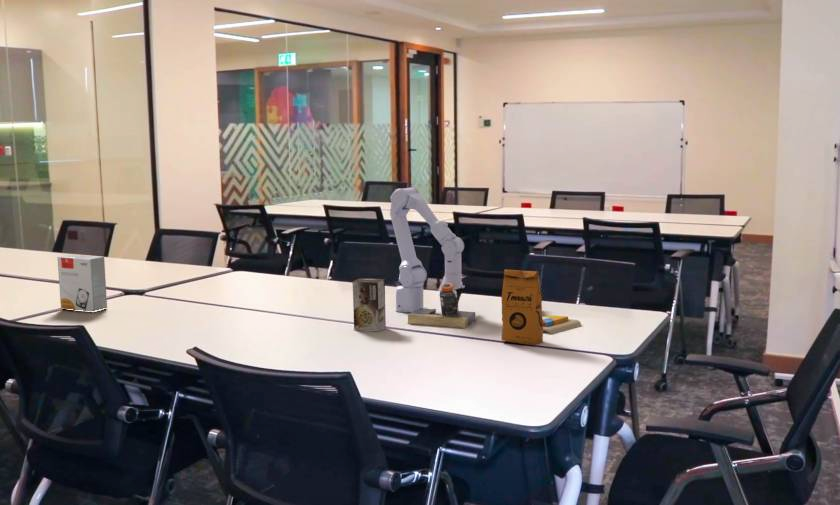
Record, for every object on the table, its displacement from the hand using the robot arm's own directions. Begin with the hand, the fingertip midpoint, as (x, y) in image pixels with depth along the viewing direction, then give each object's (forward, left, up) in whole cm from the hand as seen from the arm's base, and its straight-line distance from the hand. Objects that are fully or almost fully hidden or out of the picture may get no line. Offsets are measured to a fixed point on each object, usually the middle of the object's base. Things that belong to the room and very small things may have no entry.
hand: (453, 311), depth 281 cm
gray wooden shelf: (0, -12, -1) cm, 12 cm away
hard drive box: (-131, -35, -2) cm, 136 cm away
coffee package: (+32, -29, -2) cm, 43 cm away
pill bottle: (0, -3, -1) cm, 3 cm away
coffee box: (-19, -28, -2) cm, 34 cm away
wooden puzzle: (+33, -5, -2) cm, 33 cm away
